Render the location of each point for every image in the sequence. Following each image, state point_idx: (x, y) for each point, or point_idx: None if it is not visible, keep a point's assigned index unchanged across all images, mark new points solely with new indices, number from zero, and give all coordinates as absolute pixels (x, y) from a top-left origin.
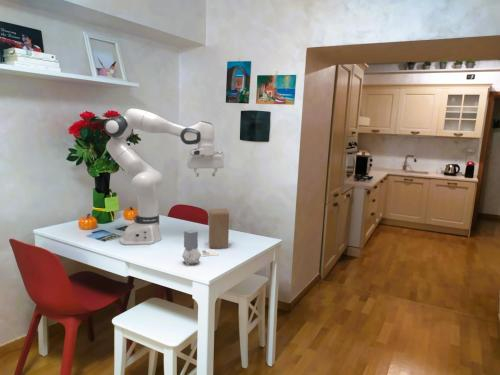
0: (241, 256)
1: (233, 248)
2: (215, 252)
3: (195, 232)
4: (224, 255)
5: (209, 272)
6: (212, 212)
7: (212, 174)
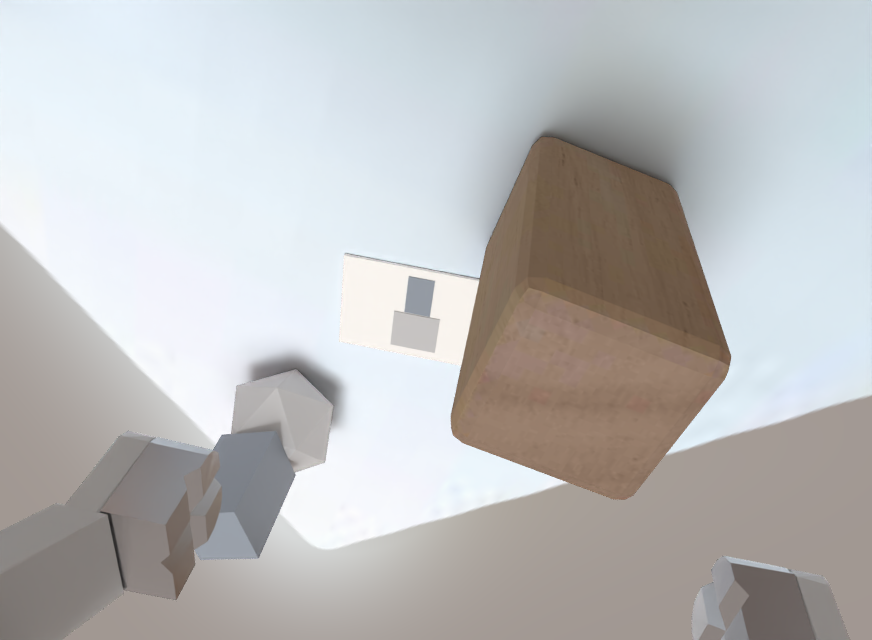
0: None
1: None
2: None
3: (243, 557)
4: None
5: (345, 511)
6: (468, 440)
7: (735, 617)
